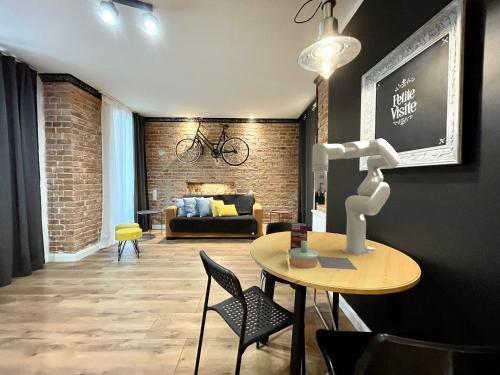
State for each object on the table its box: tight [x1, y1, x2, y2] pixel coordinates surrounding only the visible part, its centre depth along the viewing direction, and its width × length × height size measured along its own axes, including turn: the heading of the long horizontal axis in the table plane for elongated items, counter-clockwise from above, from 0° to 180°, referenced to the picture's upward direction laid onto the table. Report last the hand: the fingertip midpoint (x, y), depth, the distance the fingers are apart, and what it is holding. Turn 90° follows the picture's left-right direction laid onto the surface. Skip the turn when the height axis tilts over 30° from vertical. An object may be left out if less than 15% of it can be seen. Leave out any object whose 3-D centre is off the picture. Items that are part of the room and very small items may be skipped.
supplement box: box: [289, 223, 308, 251], centre depth 125 cm, size 9×5×16 cm, turn 83°
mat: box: [318, 256, 358, 271], centre depth 109 cm, size 15×15×1 cm
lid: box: [289, 240, 320, 259], centre depth 108 cm, size 13×13×6 cm
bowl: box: [290, 255, 319, 269], centre depth 108 cm, size 12×12×5 cm
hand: (319, 203), depth 114 cm, fingers open, 9 cm apart
